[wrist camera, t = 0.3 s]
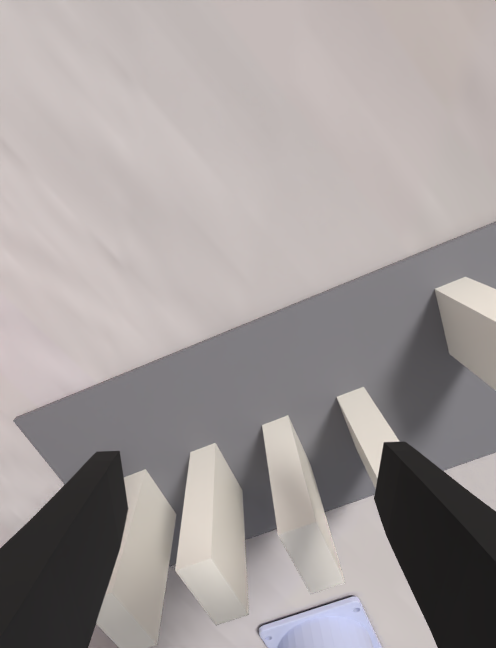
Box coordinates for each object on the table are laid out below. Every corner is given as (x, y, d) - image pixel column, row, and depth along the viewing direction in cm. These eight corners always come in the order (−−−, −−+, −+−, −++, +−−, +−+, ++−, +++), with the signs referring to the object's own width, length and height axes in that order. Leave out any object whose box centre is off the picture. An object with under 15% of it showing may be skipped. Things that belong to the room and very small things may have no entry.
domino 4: (382, 439, 22) (447, 549, 16) (356, 449, 22) (410, 561, 16) (363, 386, 21) (427, 483, 14) (336, 396, 21) (387, 497, 14)
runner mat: (546, 429, 23) (551, 433, 23) (140, 572, 25) (139, 576, 25) (519, 211, 18) (524, 212, 18) (16, 417, 20) (13, 420, 20)
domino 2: (242, 490, 23) (248, 614, 16) (218, 498, 23) (215, 625, 17) (215, 442, 21) (211, 558, 15) (190, 452, 22) (175, 570, 15)
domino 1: (176, 514, 23) (157, 644, 17) (153, 522, 23) (126, 655, 17) (145, 469, 22) (111, 592, 15) (121, 478, 22) (77, 604, 16)
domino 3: (310, 465, 22) (345, 583, 16) (286, 474, 23) (310, 594, 16) (288, 415, 21) (316, 521, 15) (261, 425, 21) (277, 534, 15)
